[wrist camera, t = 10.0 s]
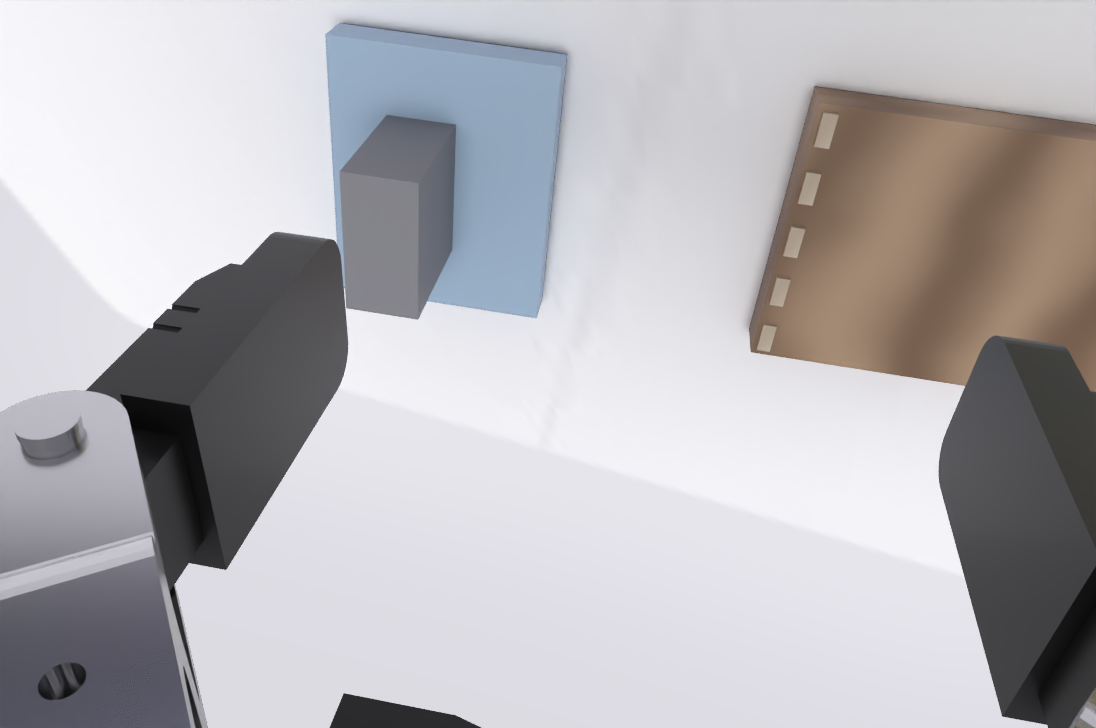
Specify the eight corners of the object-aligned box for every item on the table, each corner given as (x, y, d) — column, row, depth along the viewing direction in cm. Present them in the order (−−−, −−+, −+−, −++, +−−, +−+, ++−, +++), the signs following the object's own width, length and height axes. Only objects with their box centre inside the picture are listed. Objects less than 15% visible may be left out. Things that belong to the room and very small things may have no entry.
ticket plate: (1219, 142, 35) (1246, 163, 34) (1084, 381, 42) (1101, 409, 41) (815, 86, 36) (820, 104, 35) (749, 328, 43) (750, 354, 42)
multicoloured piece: (566, 54, 37) (538, 120, 31) (541, 299, 44) (514, 393, 38) (339, 23, 37) (266, 81, 31) (350, 270, 44) (293, 357, 38)
